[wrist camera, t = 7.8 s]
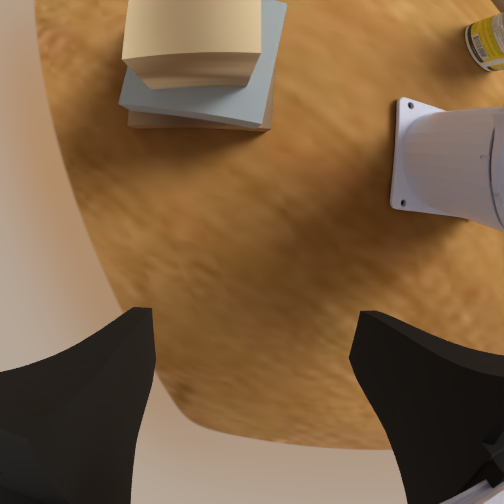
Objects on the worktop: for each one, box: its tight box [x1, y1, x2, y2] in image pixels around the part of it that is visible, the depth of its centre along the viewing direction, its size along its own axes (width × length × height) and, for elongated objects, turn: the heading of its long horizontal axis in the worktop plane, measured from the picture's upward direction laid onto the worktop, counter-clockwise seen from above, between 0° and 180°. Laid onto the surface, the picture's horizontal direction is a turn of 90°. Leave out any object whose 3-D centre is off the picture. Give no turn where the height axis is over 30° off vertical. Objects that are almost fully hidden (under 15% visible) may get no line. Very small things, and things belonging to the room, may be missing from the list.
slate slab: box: [119, 0, 287, 129], centre depth 14 cm, size 7×7×2 cm
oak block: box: [122, 0, 261, 90], centre depth 10 cm, size 4×4×5 cm
